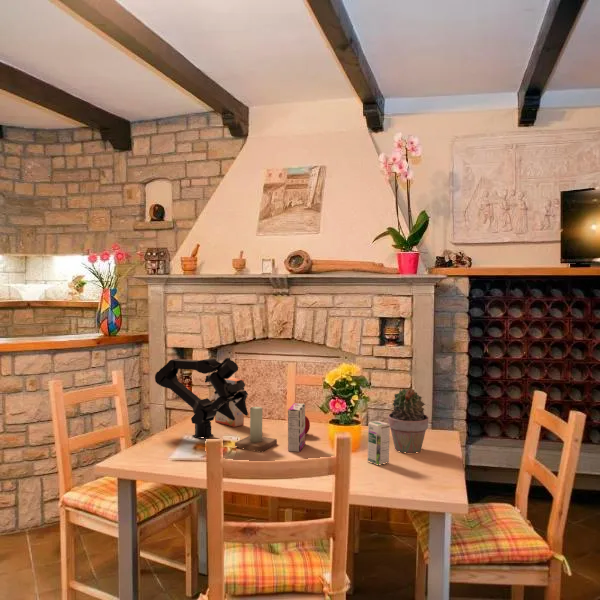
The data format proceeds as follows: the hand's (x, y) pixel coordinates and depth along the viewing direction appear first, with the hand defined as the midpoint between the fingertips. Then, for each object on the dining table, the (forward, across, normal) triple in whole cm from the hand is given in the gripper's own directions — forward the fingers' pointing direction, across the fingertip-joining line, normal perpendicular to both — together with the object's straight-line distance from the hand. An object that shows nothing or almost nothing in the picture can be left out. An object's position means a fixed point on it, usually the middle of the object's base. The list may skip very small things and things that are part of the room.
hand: (240, 417), depth 222 cm
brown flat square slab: (+13, 0, +1) cm, 13 cm away
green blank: (+11, 0, 0) cm, 11 cm away
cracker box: (-6, +23, +23) cm, 33 cm away
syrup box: (+44, +5, -37) cm, 58 cm away
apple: (+18, +22, -5) cm, 29 cm away
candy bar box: (+22, +6, -10) cm, 25 cm away
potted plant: (+47, +25, -40) cm, 67 cm away
